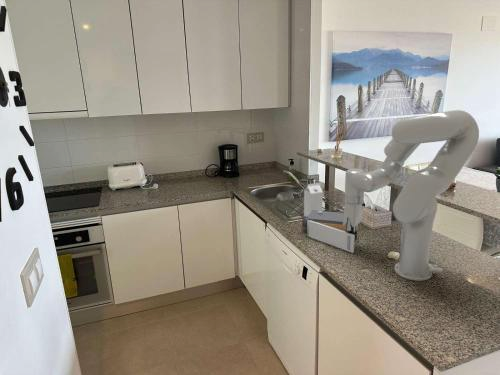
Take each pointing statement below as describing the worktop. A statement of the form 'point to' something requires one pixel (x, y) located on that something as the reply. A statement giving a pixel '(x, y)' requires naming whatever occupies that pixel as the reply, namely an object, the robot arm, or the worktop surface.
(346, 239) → the side door
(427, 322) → the worktop surface
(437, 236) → the worktop surface
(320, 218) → the cabinet with open door
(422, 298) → the worktop surface
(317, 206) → the milk carton
